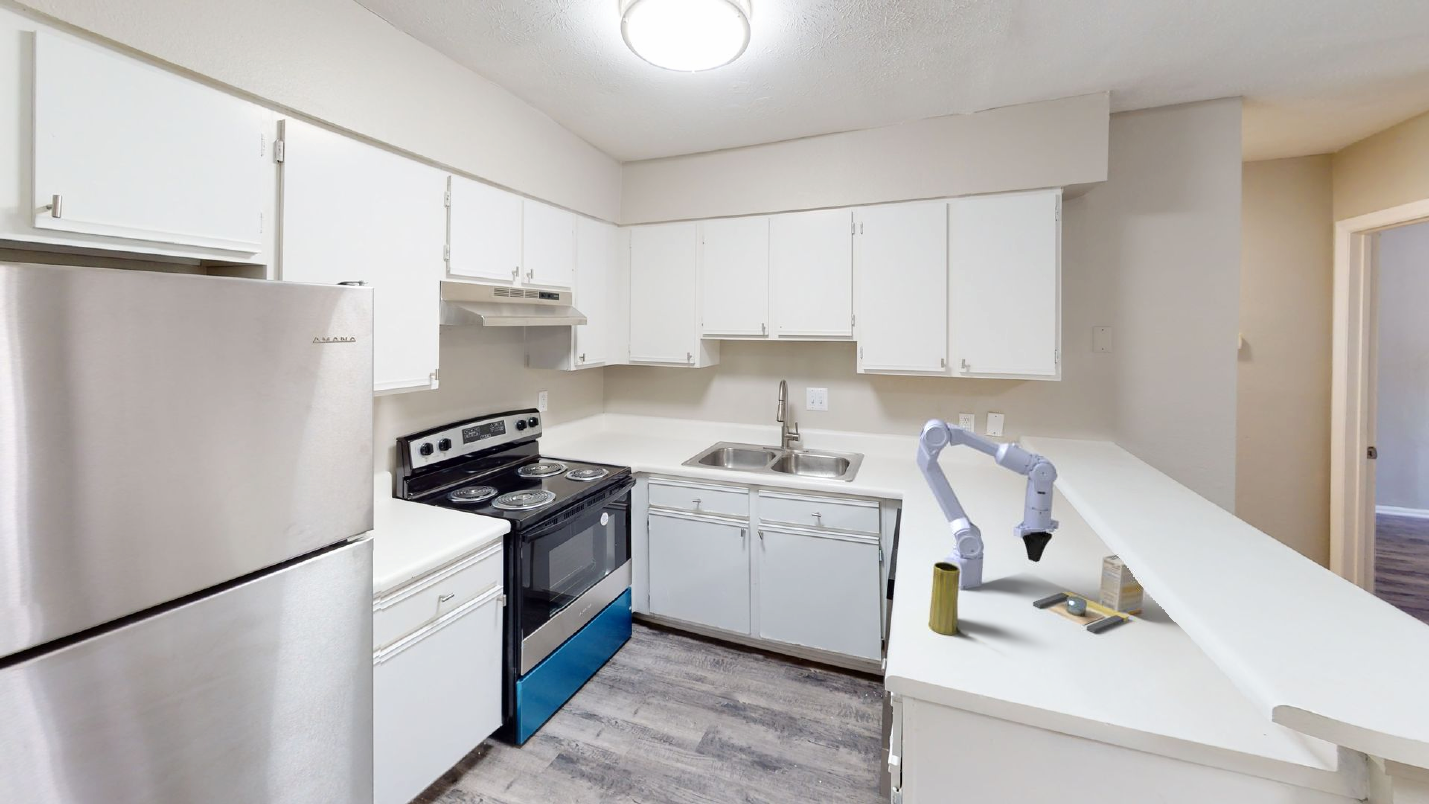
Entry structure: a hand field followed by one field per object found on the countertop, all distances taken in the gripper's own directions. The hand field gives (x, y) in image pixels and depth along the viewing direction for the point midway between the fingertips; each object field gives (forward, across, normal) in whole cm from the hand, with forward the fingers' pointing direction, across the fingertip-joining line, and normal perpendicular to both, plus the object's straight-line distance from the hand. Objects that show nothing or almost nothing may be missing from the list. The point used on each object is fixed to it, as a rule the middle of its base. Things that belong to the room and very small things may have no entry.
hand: (1033, 560), depth 139 cm
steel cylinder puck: (+8, -2, -12) cm, 14 cm away
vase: (+10, -32, -1) cm, 33 cm away
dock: (+9, -1, -12) cm, 15 cm away
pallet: (+10, -2, -12) cm, 15 cm away
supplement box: (+10, +12, -14) cm, 21 cm away
